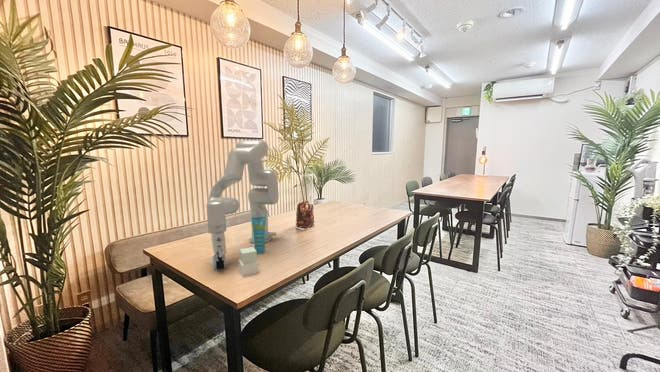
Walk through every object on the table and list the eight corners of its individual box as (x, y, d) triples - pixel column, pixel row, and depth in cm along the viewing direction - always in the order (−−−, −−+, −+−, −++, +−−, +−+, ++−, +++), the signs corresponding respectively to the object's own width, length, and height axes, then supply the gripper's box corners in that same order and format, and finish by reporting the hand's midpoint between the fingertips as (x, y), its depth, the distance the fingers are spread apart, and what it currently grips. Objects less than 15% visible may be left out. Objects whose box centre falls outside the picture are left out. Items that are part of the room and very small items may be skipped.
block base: (254, 266, 126) (254, 256, 125) (258, 272, 120) (258, 262, 119) (239, 270, 122) (238, 259, 122) (242, 276, 116) (241, 265, 115)
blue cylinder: (225, 264, 128) (224, 252, 127) (226, 268, 123) (225, 256, 123) (213, 267, 125) (212, 254, 125) (214, 271, 121) (213, 258, 120)
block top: (253, 257, 124) (253, 246, 124) (257, 261, 119) (256, 251, 118) (240, 259, 121) (239, 249, 121) (243, 264, 116) (242, 253, 116)
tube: (252, 254, 140) (250, 218, 137) (253, 251, 145) (251, 216, 142) (267, 253, 142) (265, 217, 139) (267, 249, 146) (265, 215, 144)
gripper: (228, 231, 116) (231, 271, 119) (223, 222, 131) (225, 258, 134) (209, 234, 113) (212, 275, 115) (206, 224, 128) (209, 261, 130)
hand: (219, 265), depth 124 cm, fingers closed on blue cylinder, 5 cm apart
